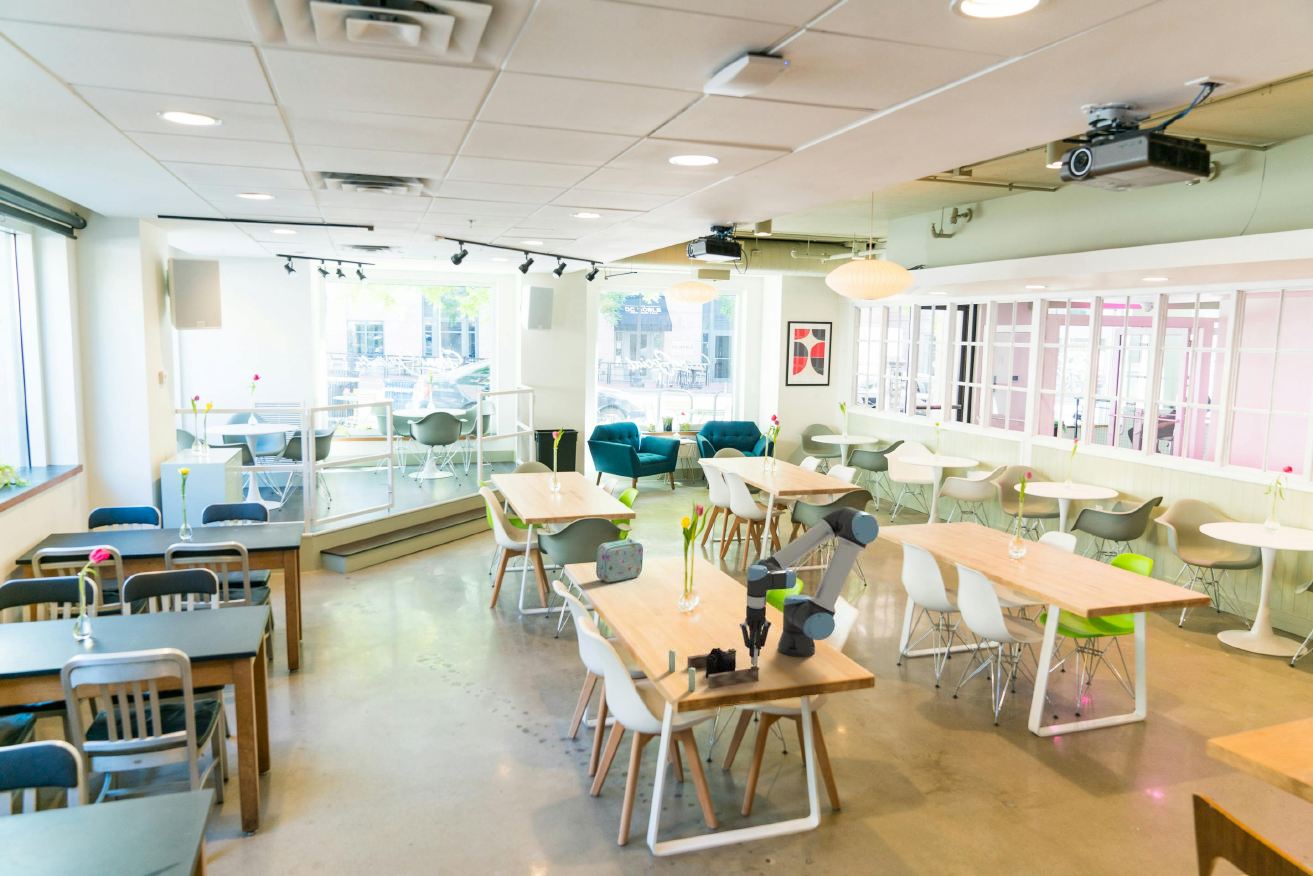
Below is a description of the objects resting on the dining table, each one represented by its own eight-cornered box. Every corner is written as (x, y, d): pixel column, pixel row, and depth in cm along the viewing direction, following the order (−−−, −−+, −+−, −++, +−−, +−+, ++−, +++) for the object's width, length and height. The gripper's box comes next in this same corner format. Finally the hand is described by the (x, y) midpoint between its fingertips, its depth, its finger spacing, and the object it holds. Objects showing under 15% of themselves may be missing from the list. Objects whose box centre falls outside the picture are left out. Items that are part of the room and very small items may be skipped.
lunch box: (633, 572, 457) (633, 534, 455) (645, 576, 449) (645, 538, 447) (594, 581, 440) (594, 541, 437) (605, 585, 432) (605, 545, 430)
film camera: (727, 682, 309) (728, 659, 308) (703, 678, 313) (703, 655, 312) (738, 668, 323) (739, 646, 322) (715, 664, 327) (715, 642, 326)
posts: (673, 669, 321) (673, 649, 320) (696, 690, 301) (696, 669, 300) (667, 670, 320) (668, 650, 319) (690, 691, 300) (690, 670, 300)
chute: (733, 660, 331) (733, 648, 330) (759, 680, 311) (759, 668, 310) (687, 667, 323) (687, 654, 323) (710, 688, 303) (710, 675, 303)
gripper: (766, 601, 325) (764, 659, 328) (736, 604, 320) (734, 663, 323) (775, 606, 318) (773, 665, 321) (745, 610, 313) (743, 670, 316)
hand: (754, 664), depth 322 cm, fingers closed
